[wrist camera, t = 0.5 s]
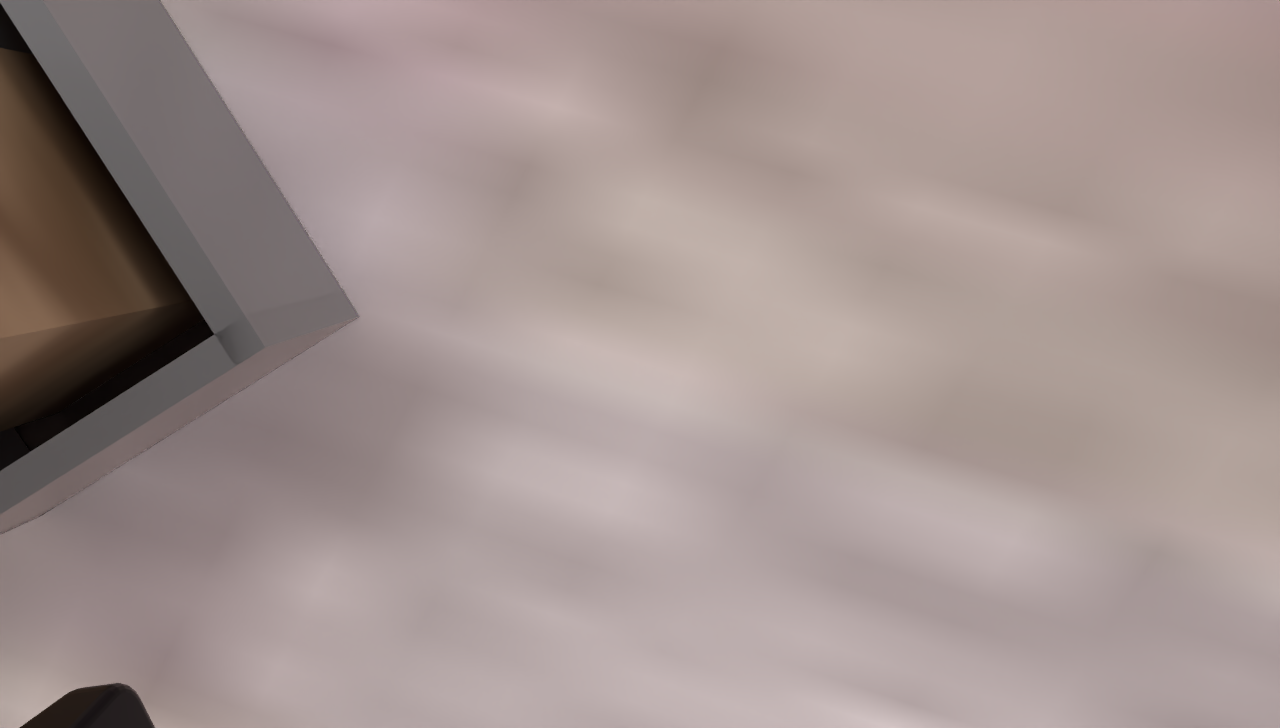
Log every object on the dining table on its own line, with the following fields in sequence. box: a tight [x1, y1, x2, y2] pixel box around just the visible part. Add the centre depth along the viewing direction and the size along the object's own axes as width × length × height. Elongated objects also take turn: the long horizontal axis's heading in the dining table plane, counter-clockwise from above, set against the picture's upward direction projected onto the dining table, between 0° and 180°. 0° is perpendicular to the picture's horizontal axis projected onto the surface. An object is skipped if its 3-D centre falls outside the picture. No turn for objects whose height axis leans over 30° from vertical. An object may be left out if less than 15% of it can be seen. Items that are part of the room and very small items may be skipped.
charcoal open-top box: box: [0, 0, 359, 534], centre depth 20 cm, size 8×8×4 cm
